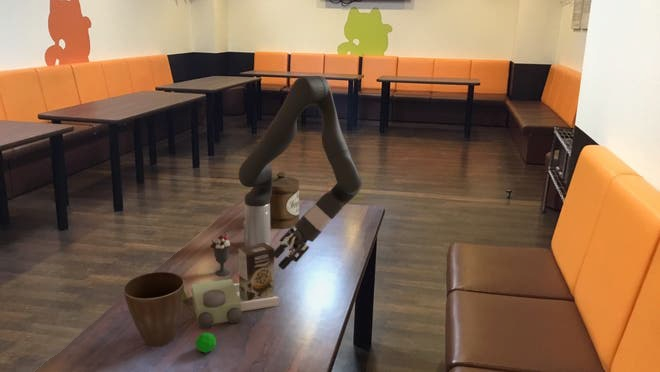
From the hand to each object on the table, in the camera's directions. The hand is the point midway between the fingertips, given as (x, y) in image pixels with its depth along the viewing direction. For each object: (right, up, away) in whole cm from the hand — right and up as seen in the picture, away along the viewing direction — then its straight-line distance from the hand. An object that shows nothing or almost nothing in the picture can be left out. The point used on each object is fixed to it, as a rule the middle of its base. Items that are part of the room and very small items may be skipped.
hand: (277, 261), depth 165 cm
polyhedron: (-16, -19, -26) cm, 36 cm away
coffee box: (-6, -11, +1) cm, 13 cm away
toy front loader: (-12, -13, -4) cm, 18 cm away
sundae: (-20, -6, +18) cm, 28 cm away
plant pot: (-29, -18, -21) cm, 40 cm away
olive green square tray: (-32, -12, 0) cm, 34 cm away
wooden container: (-4, +7, +65) cm, 65 cm away
